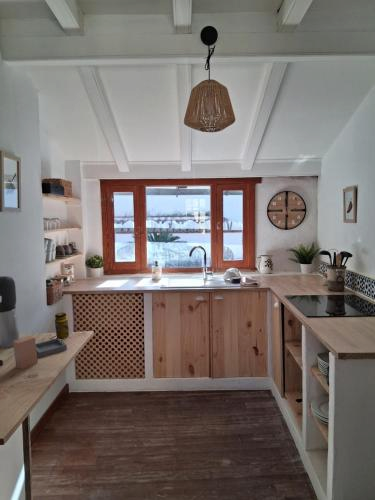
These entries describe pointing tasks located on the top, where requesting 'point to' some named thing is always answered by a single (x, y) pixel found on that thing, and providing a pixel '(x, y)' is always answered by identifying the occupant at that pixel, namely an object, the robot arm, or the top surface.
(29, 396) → the top surface
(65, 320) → the condiment
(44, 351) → the tray
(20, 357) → the brick
